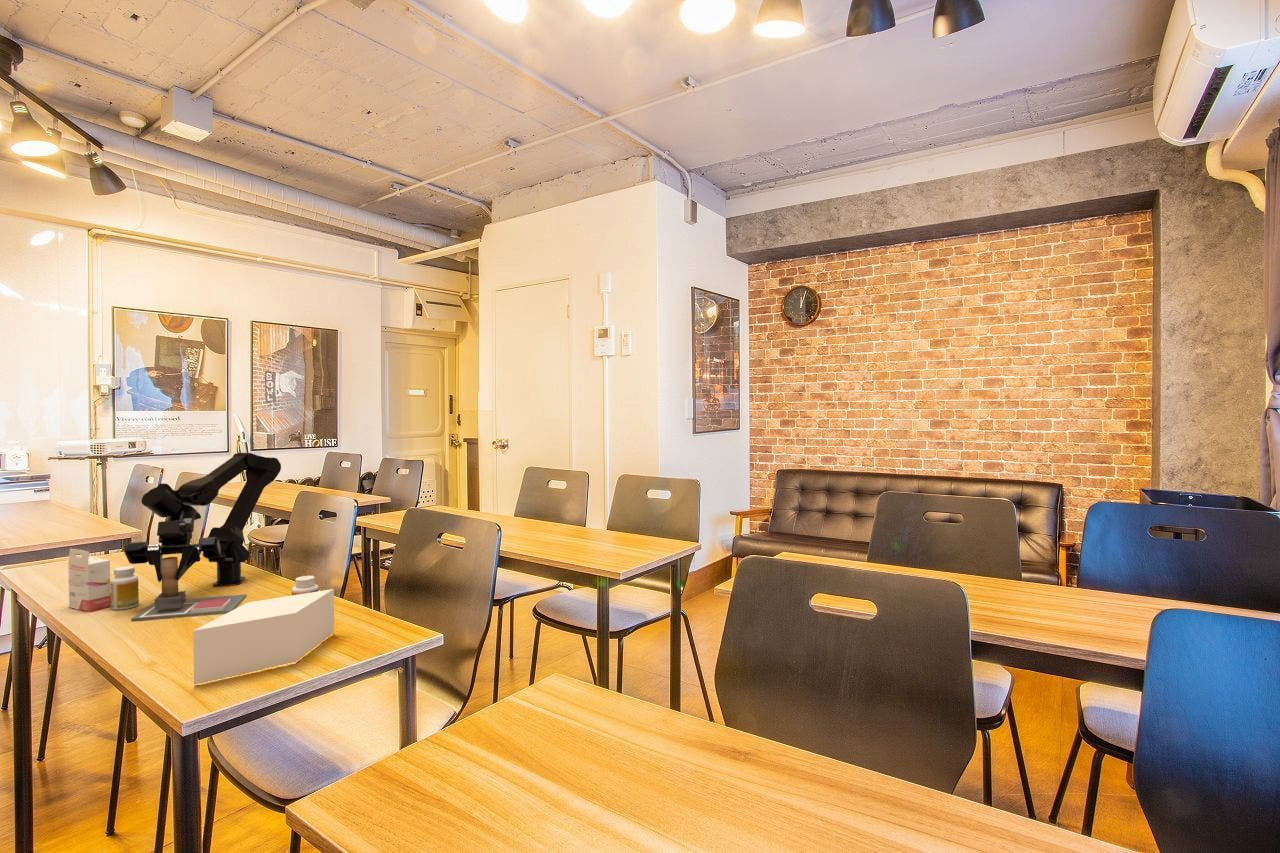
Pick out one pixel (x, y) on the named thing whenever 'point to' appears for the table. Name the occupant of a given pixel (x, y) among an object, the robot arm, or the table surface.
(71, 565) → the ink cartridge box
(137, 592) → the supplement bottle
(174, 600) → the stamp
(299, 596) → the cream slanted prism
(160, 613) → the stamp board
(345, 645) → the table surface
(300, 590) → the supplement bottle
